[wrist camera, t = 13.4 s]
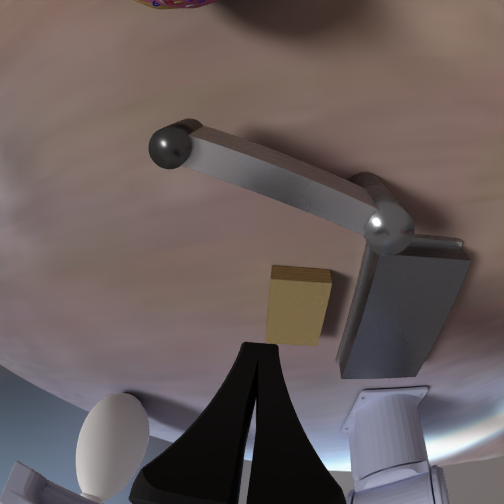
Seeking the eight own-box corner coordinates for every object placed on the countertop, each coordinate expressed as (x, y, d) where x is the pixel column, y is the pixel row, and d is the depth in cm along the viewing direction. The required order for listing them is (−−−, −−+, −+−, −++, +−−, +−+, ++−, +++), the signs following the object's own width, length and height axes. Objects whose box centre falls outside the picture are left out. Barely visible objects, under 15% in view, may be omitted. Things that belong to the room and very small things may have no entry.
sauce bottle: (167, 399, 32) (125, 538, 17) (151, 420, 36) (115, 534, 21) (106, 369, 31) (46, 503, 16) (99, 395, 35) (52, 506, 19)
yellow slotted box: (265, 342, 23) (266, 327, 25) (317, 346, 23) (316, 330, 24) (270, 279, 20) (271, 264, 22) (332, 283, 20) (329, 268, 21)
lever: (183, 141, 18) (143, 168, 13) (194, 104, 16) (155, 115, 11) (371, 214, 19) (398, 264, 14) (389, 182, 17) (424, 223, 13)
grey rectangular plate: (410, 358, 25) (416, 378, 23) (335, 358, 26) (337, 380, 24) (459, 238, 19) (475, 257, 17) (368, 229, 19) (377, 249, 17)
